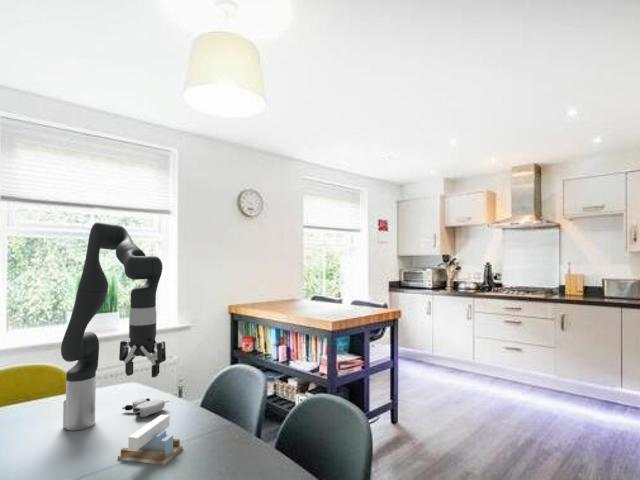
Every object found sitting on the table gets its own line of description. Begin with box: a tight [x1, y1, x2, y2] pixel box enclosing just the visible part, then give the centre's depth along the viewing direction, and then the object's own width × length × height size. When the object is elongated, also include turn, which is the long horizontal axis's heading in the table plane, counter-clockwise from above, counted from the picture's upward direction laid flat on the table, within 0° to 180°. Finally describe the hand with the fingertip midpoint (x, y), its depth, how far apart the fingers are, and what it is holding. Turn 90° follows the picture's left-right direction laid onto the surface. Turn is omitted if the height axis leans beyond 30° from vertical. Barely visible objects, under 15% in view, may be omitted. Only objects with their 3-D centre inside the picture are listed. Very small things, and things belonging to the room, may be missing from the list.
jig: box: [117, 438, 184, 466], centre depth 121 cm, size 16×10×3 cm, turn 78°
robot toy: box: [121, 397, 170, 418], centre depth 153 cm, size 12×4×15 cm
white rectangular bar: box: [127, 414, 171, 450], centre depth 121 cm, size 3×16×4 cm, turn 168°
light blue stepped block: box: [140, 429, 174, 456], centre depth 121 cm, size 14×4×6 cm, turn 78°
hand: (142, 375), depth 117 cm, fingers open, 8 cm apart
